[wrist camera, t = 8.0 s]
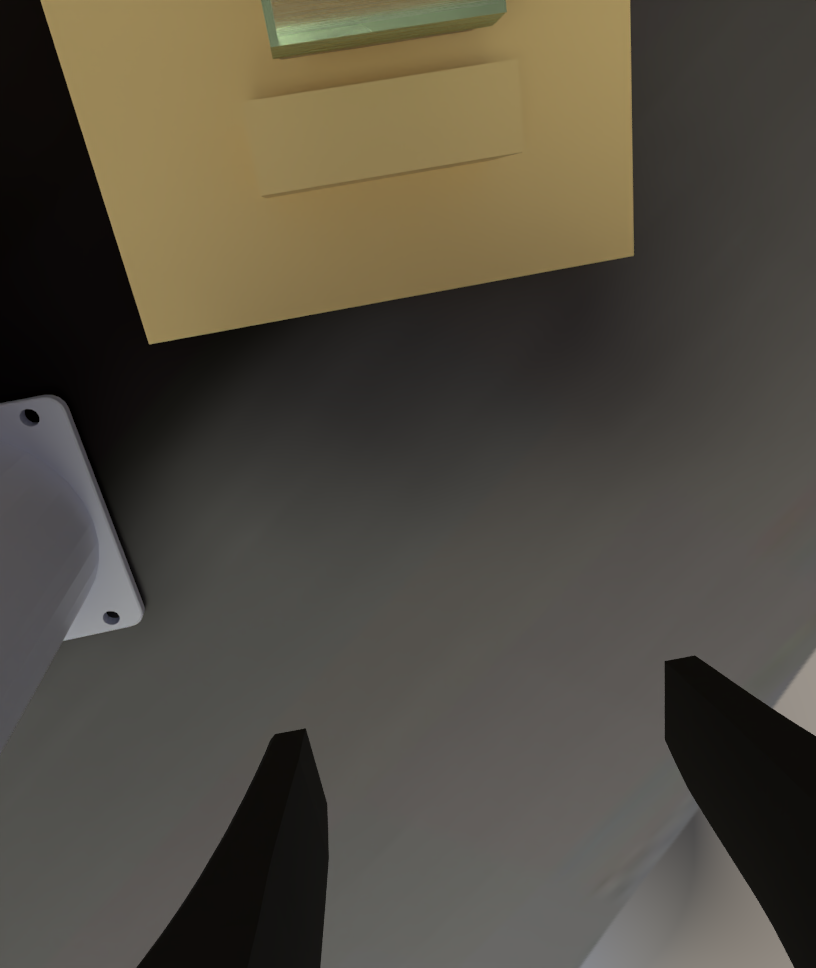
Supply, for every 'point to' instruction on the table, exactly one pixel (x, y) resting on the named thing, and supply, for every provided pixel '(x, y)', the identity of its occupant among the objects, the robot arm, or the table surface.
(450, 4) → the silver reflective cuboid
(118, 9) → the stand
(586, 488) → the table surface
